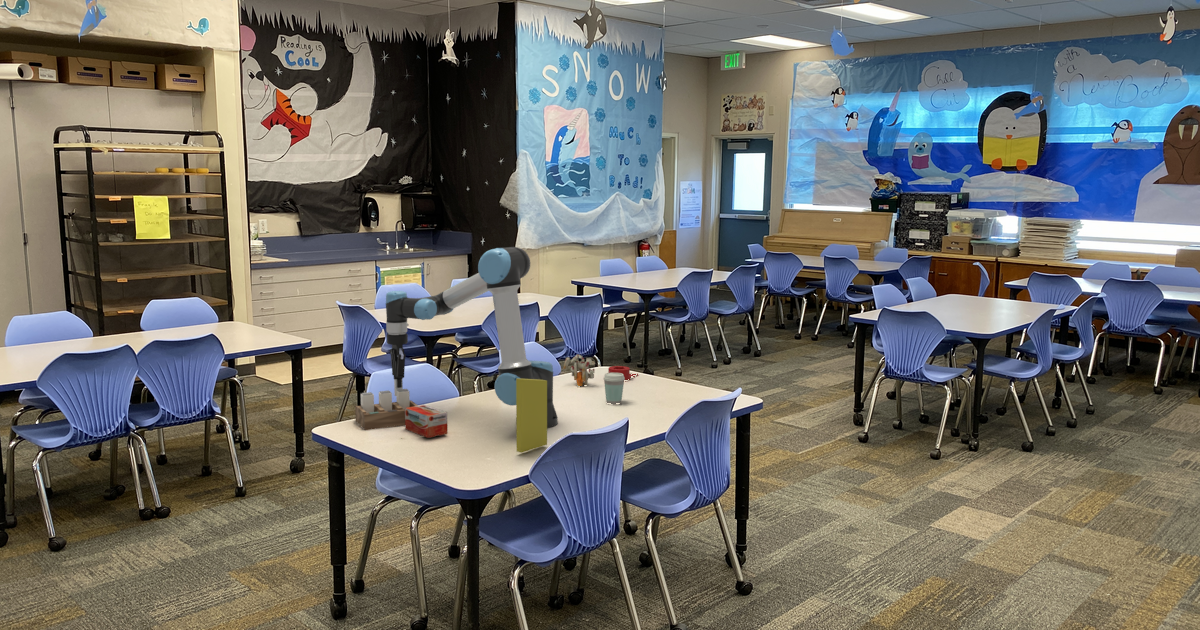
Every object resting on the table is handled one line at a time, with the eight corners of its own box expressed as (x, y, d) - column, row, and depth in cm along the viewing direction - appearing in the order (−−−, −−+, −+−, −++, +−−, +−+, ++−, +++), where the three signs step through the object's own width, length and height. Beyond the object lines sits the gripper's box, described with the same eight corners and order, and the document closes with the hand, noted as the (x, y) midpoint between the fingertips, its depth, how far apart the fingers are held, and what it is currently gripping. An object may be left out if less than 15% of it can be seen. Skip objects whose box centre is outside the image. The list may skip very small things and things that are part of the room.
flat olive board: (542, 443, 286) (542, 372, 283) (547, 444, 284) (547, 373, 281) (516, 451, 276) (516, 378, 273) (521, 452, 275) (521, 379, 272)
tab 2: (392, 411, 312) (391, 391, 311) (381, 412, 311) (380, 392, 310) (390, 409, 315) (389, 390, 314) (379, 411, 313) (378, 391, 312)
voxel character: (596, 388, 368) (596, 354, 366) (584, 392, 360) (584, 357, 358) (574, 385, 374) (574, 351, 372) (562, 389, 366) (562, 354, 364)
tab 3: (409, 409, 316) (409, 390, 315) (398, 410, 314) (398, 391, 313) (407, 407, 318) (406, 388, 317) (396, 409, 316) (396, 389, 315)
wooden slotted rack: (420, 423, 309) (420, 407, 308) (365, 430, 300) (364, 413, 299) (409, 414, 321) (409, 399, 320) (355, 421, 312) (355, 404, 311)
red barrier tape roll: (620, 386, 375) (620, 371, 374) (603, 382, 381) (604, 368, 380) (645, 379, 389) (645, 365, 388) (628, 376, 395) (629, 362, 394)
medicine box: (448, 434, 296) (447, 411, 295) (428, 438, 290) (427, 415, 289) (424, 425, 307) (423, 404, 306) (404, 429, 301) (403, 407, 300)
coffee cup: (627, 405, 338) (627, 376, 337) (606, 407, 336) (606, 377, 335) (621, 400, 346) (621, 371, 345) (600, 402, 344) (601, 372, 343)
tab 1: (374, 413, 309) (373, 393, 308) (363, 414, 307) (362, 394, 306) (372, 411, 312) (371, 391, 311) (361, 413, 310) (360, 393, 309)
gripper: (412, 334, 314) (413, 398, 317) (402, 330, 325) (403, 391, 328) (391, 336, 310) (393, 400, 313) (382, 331, 321) (384, 393, 324)
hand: (398, 395), depth 321 cm, fingers closed
